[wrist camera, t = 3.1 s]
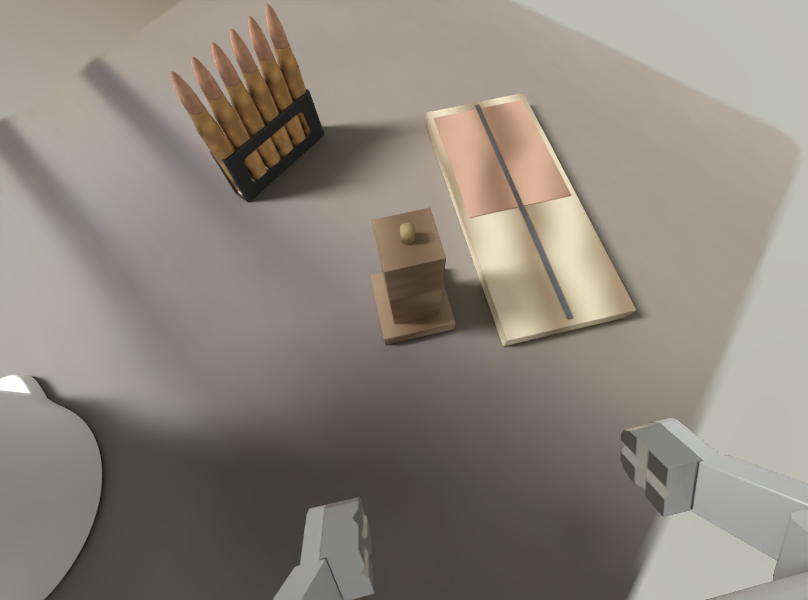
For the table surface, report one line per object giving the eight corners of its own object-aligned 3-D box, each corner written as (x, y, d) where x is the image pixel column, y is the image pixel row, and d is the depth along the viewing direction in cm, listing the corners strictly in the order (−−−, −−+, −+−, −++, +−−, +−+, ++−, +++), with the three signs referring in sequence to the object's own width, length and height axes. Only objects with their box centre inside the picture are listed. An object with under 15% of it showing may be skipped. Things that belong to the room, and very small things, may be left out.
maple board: (503, 346, 28) (507, 340, 27) (425, 125, 38) (426, 111, 36) (626, 317, 29) (637, 309, 27) (519, 106, 38) (523, 91, 37)
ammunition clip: (311, 126, 39) (268, -7, 28) (324, 134, 38) (285, 1, 27) (235, 193, 35) (151, 74, 24) (248, 203, 35) (168, 85, 24)
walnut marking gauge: (385, 345, 29) (366, 284, 19) (372, 283, 31) (348, 199, 21) (453, 329, 29) (471, 260, 19) (436, 269, 31) (443, 179, 21)
